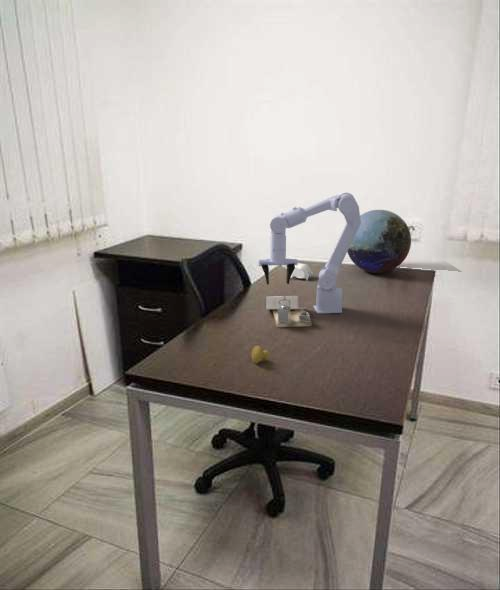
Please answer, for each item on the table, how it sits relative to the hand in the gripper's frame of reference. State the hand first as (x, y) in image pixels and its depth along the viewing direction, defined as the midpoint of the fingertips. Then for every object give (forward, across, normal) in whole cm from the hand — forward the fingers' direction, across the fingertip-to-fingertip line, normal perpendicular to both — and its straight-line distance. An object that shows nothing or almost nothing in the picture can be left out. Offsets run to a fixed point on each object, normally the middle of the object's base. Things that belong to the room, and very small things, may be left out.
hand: (277, 283), depth 176 cm
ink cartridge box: (+6, +5, +3) cm, 9 cm away
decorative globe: (+10, -54, -45) cm, 71 cm away
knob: (+10, +11, +44) cm, 46 cm away
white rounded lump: (+10, -14, -39) cm, 43 cm away
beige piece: (+10, -4, +12) cm, 16 cm away
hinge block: (+8, 0, +18) cm, 19 cm away
